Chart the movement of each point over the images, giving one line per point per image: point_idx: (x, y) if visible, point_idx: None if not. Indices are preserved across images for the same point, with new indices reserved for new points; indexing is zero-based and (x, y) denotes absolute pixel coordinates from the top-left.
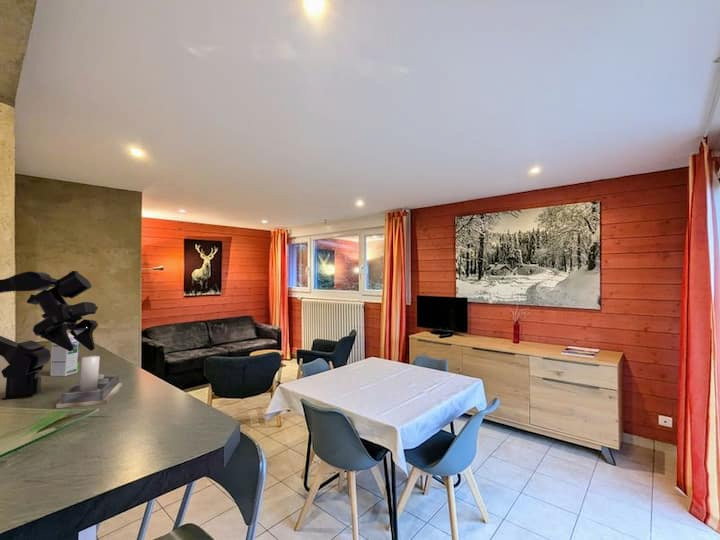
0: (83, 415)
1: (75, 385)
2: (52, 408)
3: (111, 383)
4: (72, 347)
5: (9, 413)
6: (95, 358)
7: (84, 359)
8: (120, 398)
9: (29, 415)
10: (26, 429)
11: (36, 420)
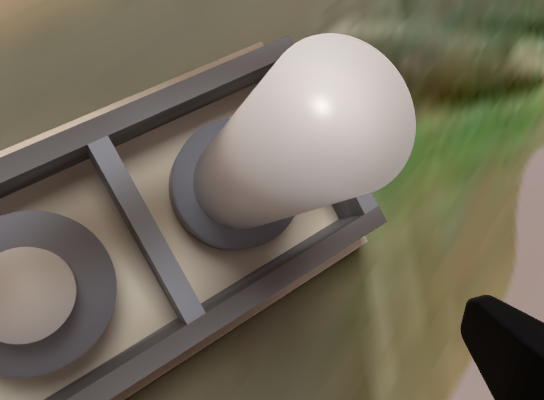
0: (404, 44)
1: (209, 320)
2: (361, 259)
3: (102, 115)
4: (506, 304)
5: (446, 388)
6: (360, 41)
7: (409, 125)
8: (160, 34)
9: (446, 271)
10: (540, 138)
11: (479, 185)
